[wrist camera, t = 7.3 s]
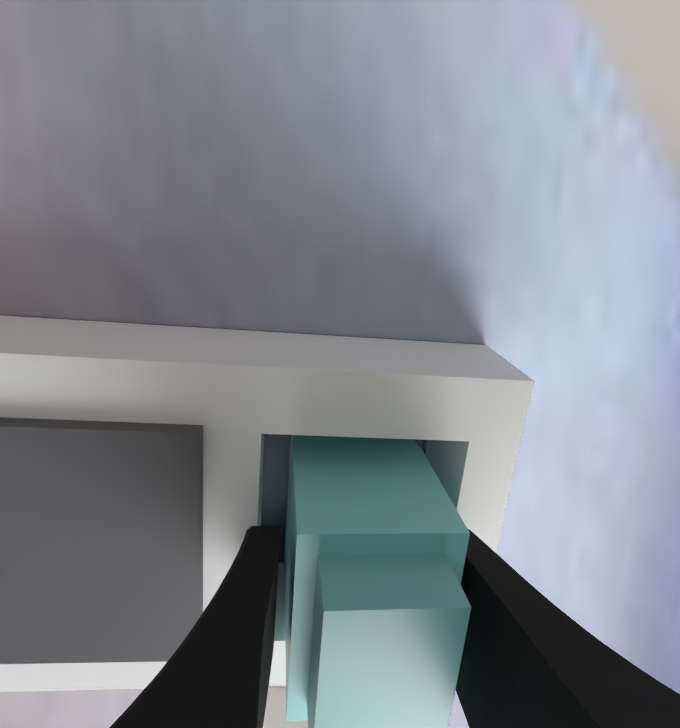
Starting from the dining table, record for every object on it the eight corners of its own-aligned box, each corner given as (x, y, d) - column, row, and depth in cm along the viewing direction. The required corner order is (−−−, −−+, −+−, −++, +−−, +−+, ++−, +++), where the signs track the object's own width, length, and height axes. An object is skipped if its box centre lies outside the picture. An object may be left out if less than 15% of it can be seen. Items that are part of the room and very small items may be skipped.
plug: (284, 551, 15) (286, 793, 9) (291, 415, 14) (299, 588, 7) (387, 550, 15) (457, 780, 9) (403, 418, 14) (499, 584, 8)
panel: (10, 602, 14) (-65, 709, 11) (-34, 313, 12) (-145, 352, 9) (438, 601, 16) (472, 695, 13) (485, 345, 13) (542, 387, 10)
